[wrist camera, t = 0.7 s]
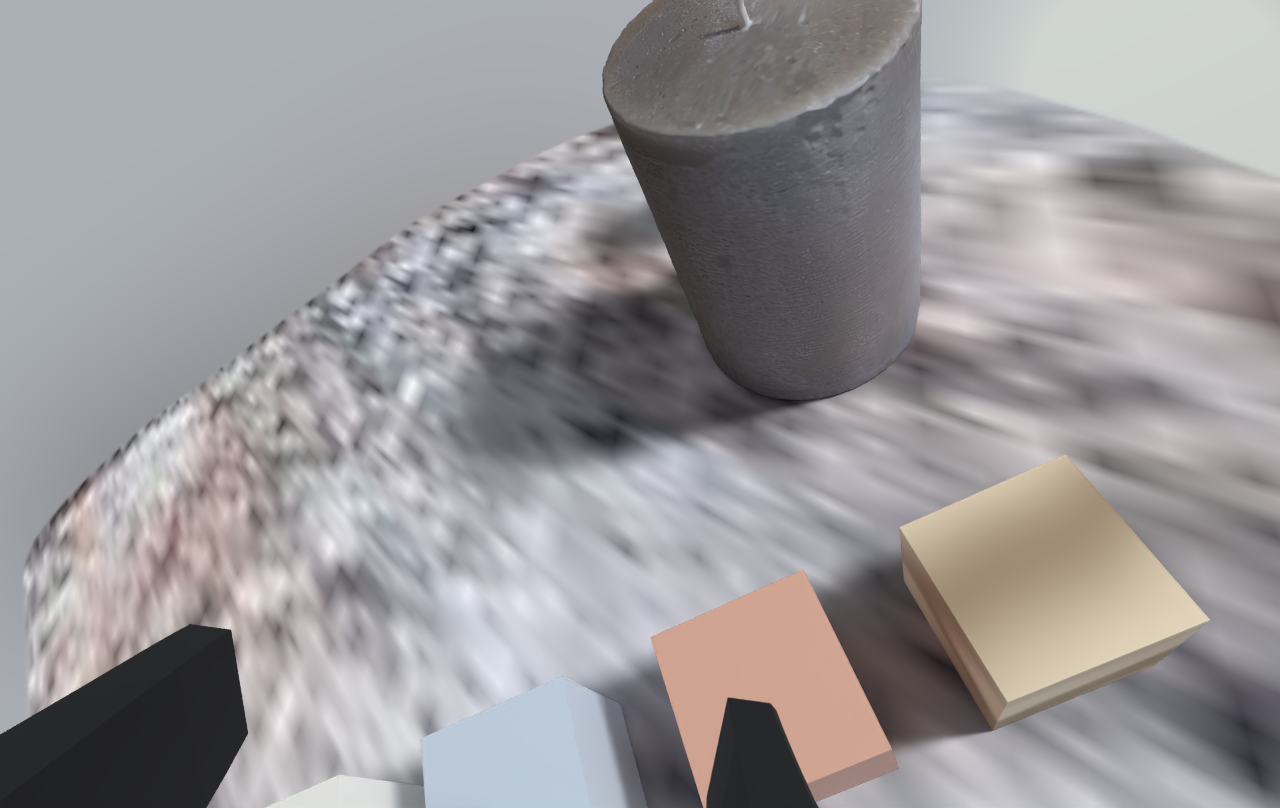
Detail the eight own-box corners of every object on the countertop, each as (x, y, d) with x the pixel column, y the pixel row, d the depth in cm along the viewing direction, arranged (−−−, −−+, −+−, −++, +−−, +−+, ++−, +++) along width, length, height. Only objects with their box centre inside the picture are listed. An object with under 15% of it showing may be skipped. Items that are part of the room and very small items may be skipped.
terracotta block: (899, 768, 20) (892, 749, 16) (749, 829, 21) (708, 823, 17) (824, 616, 23) (803, 569, 20) (695, 672, 24) (650, 637, 20)
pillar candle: (669, 320, 33) (529, 35, 21) (820, 205, 34) (766, -135, 22) (796, 445, 27) (699, 147, 16) (977, 303, 28) (1017, -89, 16)
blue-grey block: (663, 863, 21) (602, 866, 17) (524, 920, 22) (435, 934, 18) (621, 704, 24) (561, 676, 20) (500, 756, 25) (420, 738, 21)
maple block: (1153, 666, 20) (1209, 620, 16) (992, 731, 20) (1007, 702, 16) (1041, 522, 23) (1065, 454, 19) (904, 582, 23) (899, 527, 19)
